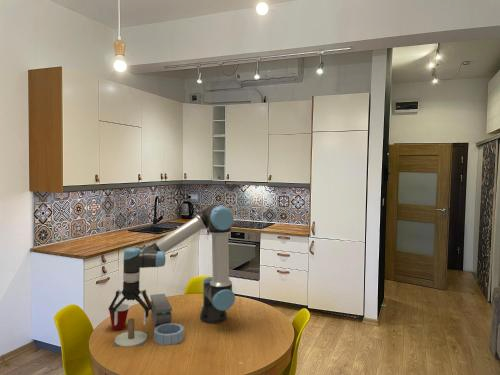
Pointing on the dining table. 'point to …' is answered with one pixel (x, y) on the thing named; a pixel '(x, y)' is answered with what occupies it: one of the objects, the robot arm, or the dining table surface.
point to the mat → (136, 345)
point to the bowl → (169, 334)
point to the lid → (131, 336)
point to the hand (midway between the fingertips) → (130, 324)
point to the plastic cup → (119, 316)
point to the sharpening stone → (160, 309)
